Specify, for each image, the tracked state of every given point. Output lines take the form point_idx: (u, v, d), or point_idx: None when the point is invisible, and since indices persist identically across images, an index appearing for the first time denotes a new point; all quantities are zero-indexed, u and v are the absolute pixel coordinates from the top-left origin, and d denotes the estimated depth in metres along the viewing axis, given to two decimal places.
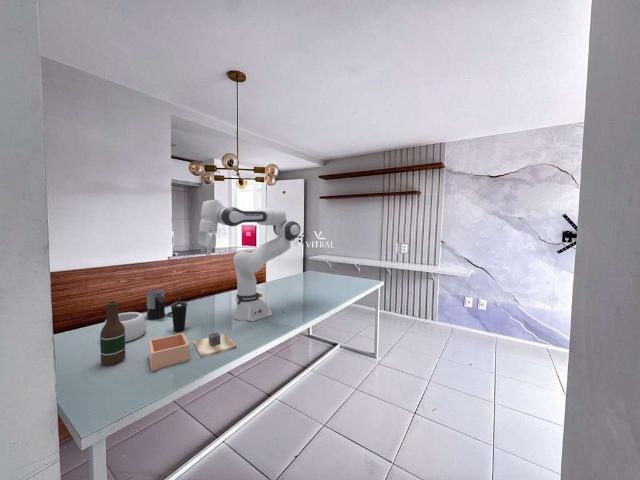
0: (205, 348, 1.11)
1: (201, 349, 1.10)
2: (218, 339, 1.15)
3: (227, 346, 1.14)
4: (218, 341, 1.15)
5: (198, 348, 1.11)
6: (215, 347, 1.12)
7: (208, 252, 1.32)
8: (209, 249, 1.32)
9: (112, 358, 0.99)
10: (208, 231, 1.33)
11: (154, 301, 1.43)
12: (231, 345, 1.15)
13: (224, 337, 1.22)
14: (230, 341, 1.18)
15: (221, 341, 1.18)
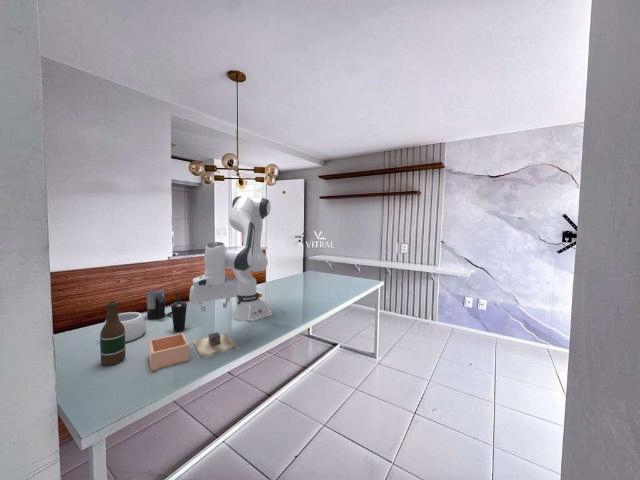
0: (205, 348, 1.11)
1: (201, 349, 1.10)
2: (218, 339, 1.15)
3: (227, 346, 1.14)
4: (218, 341, 1.15)
5: (198, 348, 1.11)
6: (215, 347, 1.12)
7: None
8: None
9: (112, 358, 0.99)
10: (225, 280, 1.16)
11: (155, 301, 1.44)
12: (231, 345, 1.15)
13: (224, 337, 1.22)
14: (230, 341, 1.18)
15: (221, 341, 1.18)
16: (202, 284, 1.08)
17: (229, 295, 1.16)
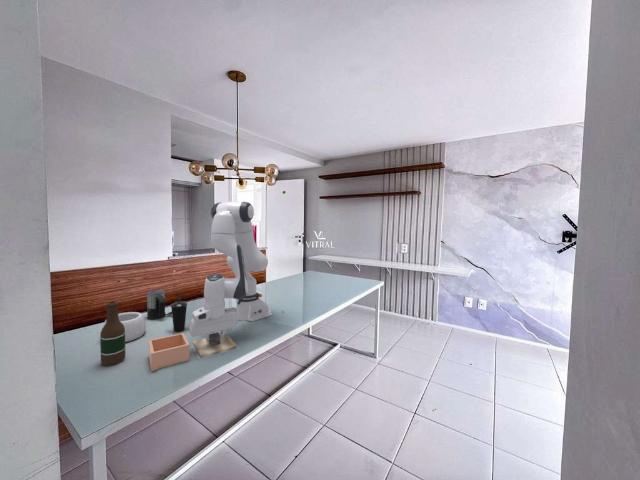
0: (205, 348, 1.11)
1: (201, 349, 1.10)
2: (218, 339, 1.15)
3: (227, 346, 1.14)
4: (218, 341, 1.15)
5: (198, 348, 1.11)
6: (215, 347, 1.12)
7: None
8: None
9: (112, 358, 0.99)
10: (225, 311, 1.17)
11: (155, 301, 1.44)
12: (231, 345, 1.15)
13: (224, 337, 1.22)
14: (230, 341, 1.18)
15: (221, 341, 1.18)
16: (202, 318, 1.09)
17: (229, 326, 1.18)
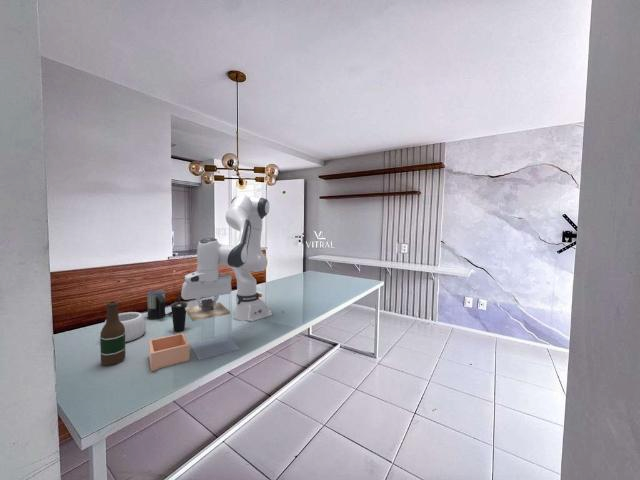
0: (197, 313, 1.08)
1: (194, 313, 1.07)
2: (211, 305, 1.11)
3: (220, 311, 1.10)
4: (211, 307, 1.11)
5: (190, 312, 1.07)
6: (208, 312, 1.09)
7: None
8: None
9: (112, 358, 0.99)
10: None
11: (155, 301, 1.44)
12: (225, 311, 1.11)
13: (217, 305, 1.19)
14: (224, 308, 1.15)
15: (214, 308, 1.15)
16: (194, 280, 1.05)
17: (222, 292, 1.14)
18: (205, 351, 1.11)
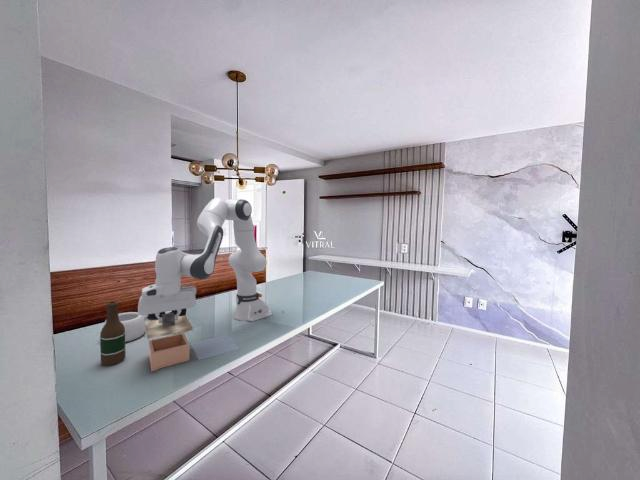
0: (156, 329, 0.99)
1: (151, 330, 0.98)
2: (172, 319, 1.03)
3: (181, 327, 1.01)
4: (172, 322, 1.03)
5: (148, 329, 0.99)
6: (167, 328, 1.00)
7: None
8: None
9: (112, 358, 0.99)
10: (180, 289, 1.05)
11: None
12: (187, 326, 1.03)
13: (182, 319, 1.10)
14: (187, 322, 1.06)
15: (177, 322, 1.06)
16: (151, 294, 0.97)
17: (185, 305, 1.06)
18: (205, 351, 1.11)
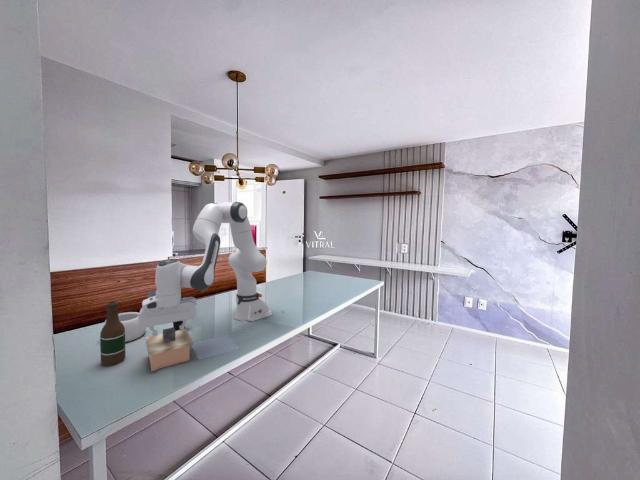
0: (156, 345, 1.00)
1: (152, 346, 0.99)
2: (173, 335, 1.03)
3: (182, 342, 1.02)
4: (173, 337, 1.04)
5: (148, 345, 0.99)
6: (168, 343, 1.01)
7: None
8: None
9: (112, 358, 0.99)
10: (180, 301, 1.05)
11: None
12: (187, 341, 1.03)
13: (182, 333, 1.11)
14: (187, 337, 1.07)
15: (177, 337, 1.07)
16: (151, 307, 0.97)
17: (185, 317, 1.06)
18: (205, 351, 1.11)
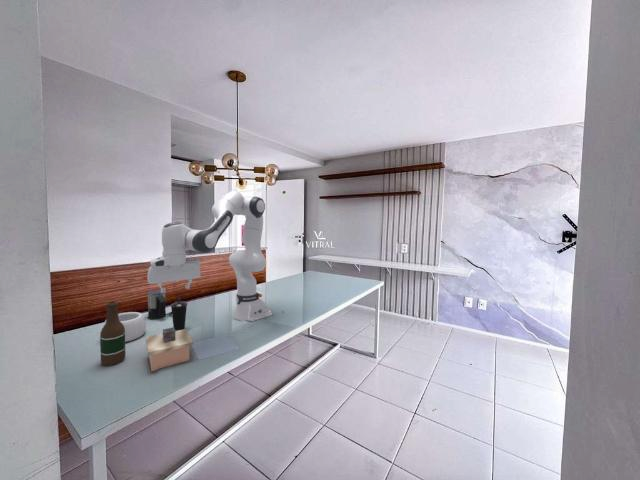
0: (156, 345, 1.00)
1: (152, 346, 0.99)
2: (173, 335, 1.03)
3: (182, 342, 1.02)
4: (173, 337, 1.04)
5: (148, 345, 0.99)
6: (168, 343, 1.01)
7: None
8: None
9: (112, 358, 0.99)
10: (185, 261, 1.13)
11: (155, 300, 1.44)
12: (187, 341, 1.03)
13: (182, 333, 1.11)
14: (187, 337, 1.07)
15: (177, 337, 1.07)
16: (159, 265, 1.05)
17: (191, 276, 1.14)
18: (205, 351, 1.11)
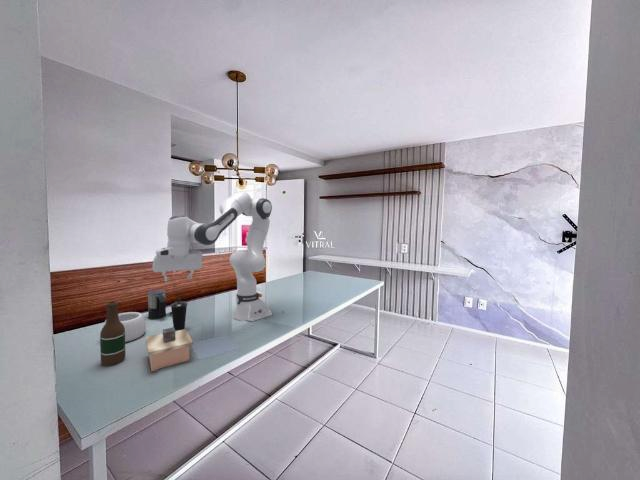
0: (156, 345, 1.00)
1: (152, 346, 0.99)
2: (173, 335, 1.03)
3: (182, 342, 1.02)
4: (173, 337, 1.04)
5: (148, 345, 0.99)
6: (168, 343, 1.01)
7: None
8: None
9: (112, 358, 0.99)
10: (189, 252, 1.20)
11: (156, 300, 1.44)
12: (187, 341, 1.03)
13: (182, 333, 1.11)
14: (187, 337, 1.07)
15: (177, 337, 1.07)
16: (164, 254, 1.12)
17: (193, 267, 1.21)
18: (205, 351, 1.11)
